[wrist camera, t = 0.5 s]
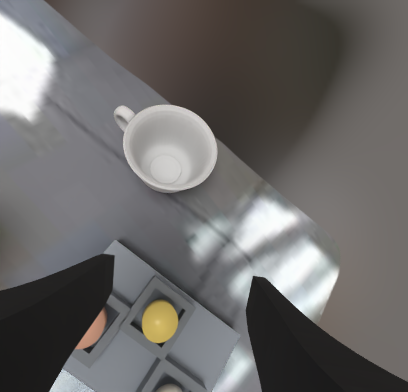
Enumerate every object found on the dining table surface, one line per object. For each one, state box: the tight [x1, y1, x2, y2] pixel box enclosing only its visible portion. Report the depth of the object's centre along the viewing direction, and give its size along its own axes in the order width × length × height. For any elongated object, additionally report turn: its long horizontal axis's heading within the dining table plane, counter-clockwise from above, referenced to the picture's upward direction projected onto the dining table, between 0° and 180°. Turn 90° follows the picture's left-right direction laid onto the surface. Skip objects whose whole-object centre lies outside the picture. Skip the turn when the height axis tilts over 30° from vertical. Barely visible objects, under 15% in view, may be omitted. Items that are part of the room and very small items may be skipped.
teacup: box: [114, 105, 217, 193], centre depth 32 cm, size 12×15×10 cm
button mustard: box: [142, 299, 178, 343], centre depth 26 cm, size 4×4×2 cm
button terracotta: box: [75, 307, 107, 349], centre depth 24 cm, size 4×4×2 cm
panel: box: [63, 240, 241, 392], centre depth 28 cm, size 14×22×5 cm, turn 54°
